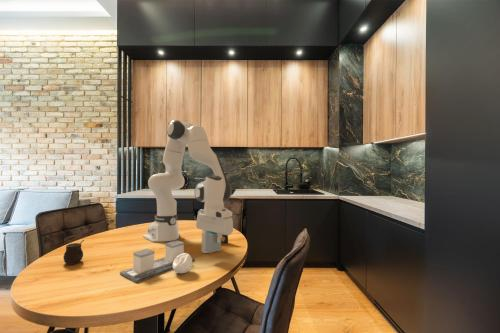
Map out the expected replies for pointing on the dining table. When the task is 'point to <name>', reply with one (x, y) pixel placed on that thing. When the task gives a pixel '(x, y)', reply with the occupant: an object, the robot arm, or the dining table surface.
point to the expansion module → (212, 242)
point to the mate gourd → (73, 253)
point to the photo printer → (204, 243)
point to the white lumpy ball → (182, 263)
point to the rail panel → (159, 268)
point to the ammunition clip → (224, 239)
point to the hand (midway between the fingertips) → (213, 241)
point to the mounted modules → (146, 257)
